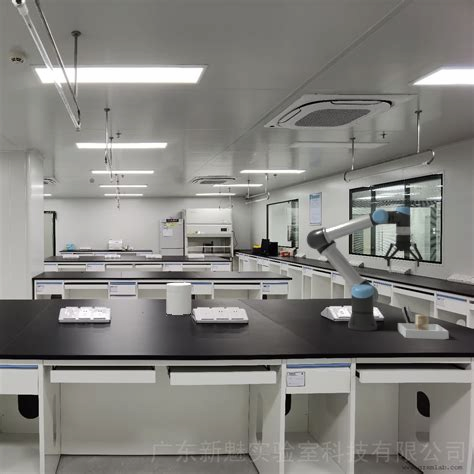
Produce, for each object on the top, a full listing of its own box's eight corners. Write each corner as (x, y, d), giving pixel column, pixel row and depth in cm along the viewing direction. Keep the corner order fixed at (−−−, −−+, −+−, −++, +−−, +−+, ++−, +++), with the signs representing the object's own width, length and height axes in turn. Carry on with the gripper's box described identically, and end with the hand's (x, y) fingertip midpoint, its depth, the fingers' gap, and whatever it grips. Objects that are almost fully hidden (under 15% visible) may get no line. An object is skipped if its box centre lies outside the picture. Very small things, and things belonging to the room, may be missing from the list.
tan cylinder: (418, 333, 218) (418, 316, 218) (415, 331, 223) (415, 314, 223) (428, 334, 218) (428, 316, 218) (425, 332, 222) (425, 314, 223)
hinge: (415, 323, 250) (409, 307, 251) (407, 325, 252) (401, 309, 253) (415, 318, 265) (409, 303, 267) (408, 320, 267) (402, 305, 268)
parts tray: (405, 338, 213) (405, 330, 213) (397, 330, 231) (397, 323, 231) (448, 339, 210) (448, 331, 210) (437, 331, 228) (437, 324, 228)
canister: (161, 315, 276) (161, 284, 276) (177, 311, 289) (177, 282, 290) (180, 317, 267) (180, 285, 268) (196, 314, 281) (196, 283, 281)
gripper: (380, 234, 239) (380, 272, 239) (428, 234, 234) (428, 273, 233) (378, 234, 246) (378, 271, 246) (425, 234, 241) (425, 272, 241)
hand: (403, 272), depth 240 cm, fingers open, 13 cm apart
